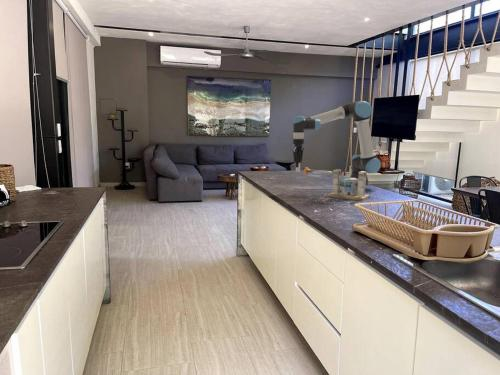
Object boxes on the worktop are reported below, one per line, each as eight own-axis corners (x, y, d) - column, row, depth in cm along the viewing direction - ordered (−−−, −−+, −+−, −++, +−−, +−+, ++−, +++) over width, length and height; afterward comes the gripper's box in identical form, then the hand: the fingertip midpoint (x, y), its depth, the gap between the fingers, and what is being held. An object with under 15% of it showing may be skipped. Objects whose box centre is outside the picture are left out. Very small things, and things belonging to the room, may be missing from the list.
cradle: (335, 193, 262) (336, 168, 259) (369, 197, 249) (371, 170, 245) (327, 196, 251) (328, 170, 248) (362, 201, 237) (364, 173, 234)
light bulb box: (343, 196, 245) (344, 179, 243) (338, 194, 251) (339, 178, 249) (358, 195, 248) (359, 179, 246) (353, 193, 254) (353, 177, 252)
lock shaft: (306, 173, 268) (306, 166, 267) (338, 176, 254) (338, 169, 253) (303, 174, 264) (303, 167, 263) (335, 177, 250) (335, 170, 249)
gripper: (298, 137, 272) (297, 170, 276) (289, 138, 261) (288, 172, 266) (307, 138, 268) (306, 171, 272) (298, 139, 257) (298, 173, 261)
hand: (297, 171), depth 269 cm, fingers closed
